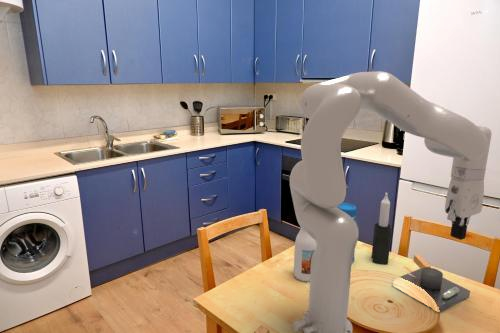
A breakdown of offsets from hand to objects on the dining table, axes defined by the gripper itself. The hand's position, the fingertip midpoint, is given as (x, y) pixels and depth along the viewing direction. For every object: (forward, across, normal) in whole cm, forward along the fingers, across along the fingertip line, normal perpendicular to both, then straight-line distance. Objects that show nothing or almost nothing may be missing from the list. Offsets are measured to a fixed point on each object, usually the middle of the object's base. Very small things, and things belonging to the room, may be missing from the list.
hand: (457, 237), depth 95 cm
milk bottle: (+19, -29, +30) cm, 45 cm away
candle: (+20, 0, +25) cm, 32 cm away
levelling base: (+19, -1, +5) cm, 20 cm away
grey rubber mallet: (+17, +1, +8) cm, 19 cm away
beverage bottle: (+19, -11, +32) cm, 39 cm away
